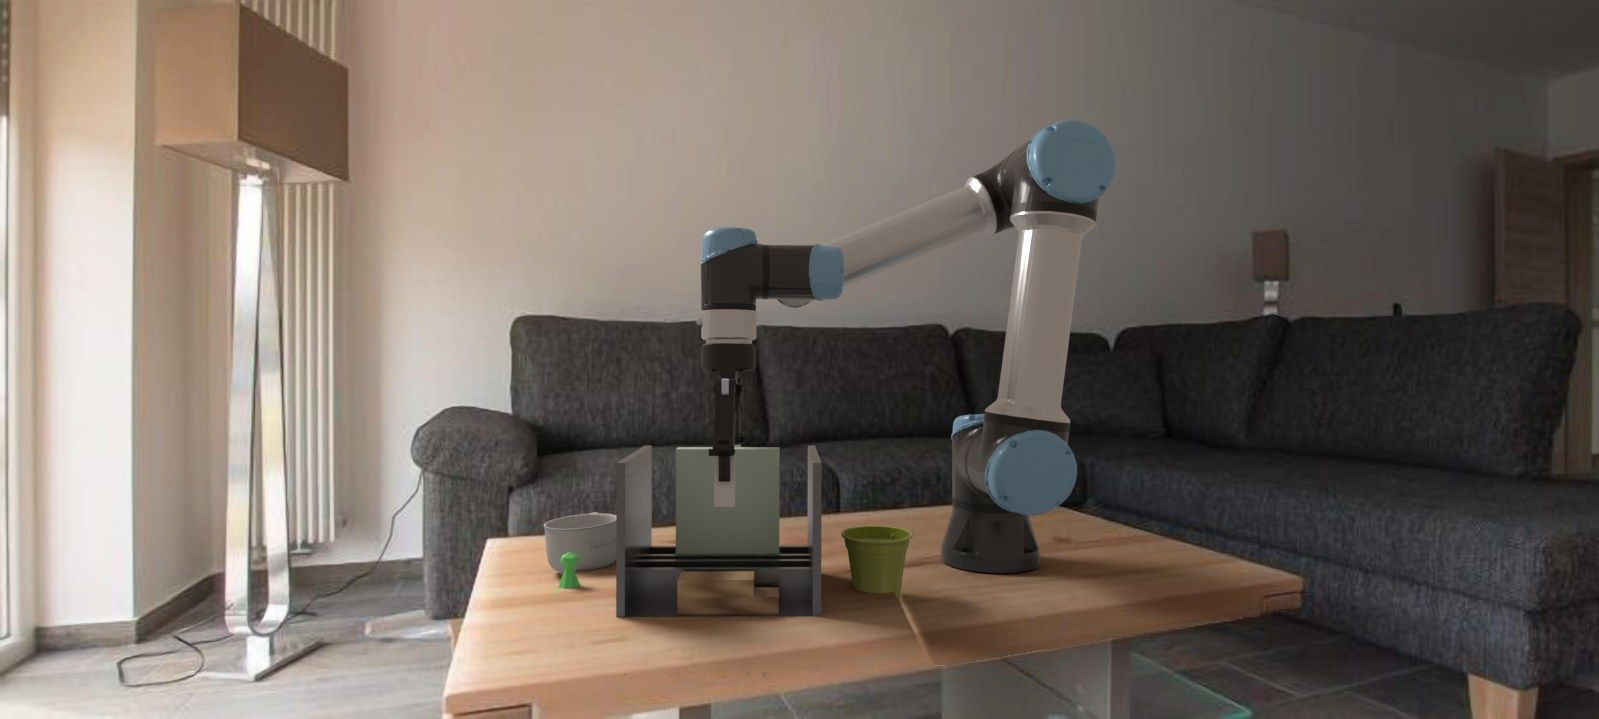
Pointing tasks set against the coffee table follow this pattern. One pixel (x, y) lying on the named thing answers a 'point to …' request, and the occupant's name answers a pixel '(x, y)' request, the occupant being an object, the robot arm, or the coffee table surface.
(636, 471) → the rack
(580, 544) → the teacup
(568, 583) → the game piece
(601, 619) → the coffee table surface
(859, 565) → the plant pot
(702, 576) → the offcut upper
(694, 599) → the offcut lower
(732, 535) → the sage panel
